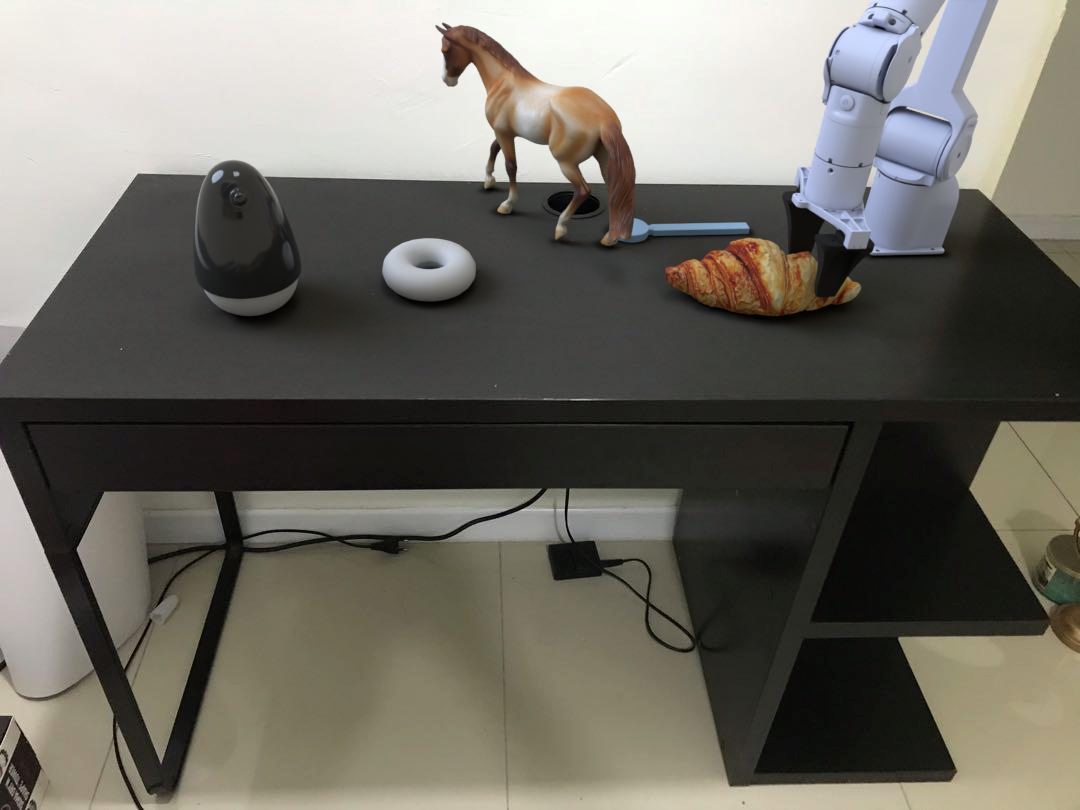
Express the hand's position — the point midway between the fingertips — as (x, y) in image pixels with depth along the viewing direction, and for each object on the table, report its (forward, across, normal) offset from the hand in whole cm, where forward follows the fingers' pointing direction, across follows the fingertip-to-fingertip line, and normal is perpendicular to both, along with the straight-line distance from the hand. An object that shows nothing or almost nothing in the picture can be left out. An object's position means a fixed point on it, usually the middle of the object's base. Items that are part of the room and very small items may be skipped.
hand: (811, 275), depth 98 cm
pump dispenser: (+3, -3, -59) cm, 59 cm away
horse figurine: (+3, -17, -29) cm, 33 cm away
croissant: (+3, 0, -5) cm, 6 cm away
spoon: (+3, -16, -10) cm, 19 cm away
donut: (+3, -6, -41) cm, 41 cm away
